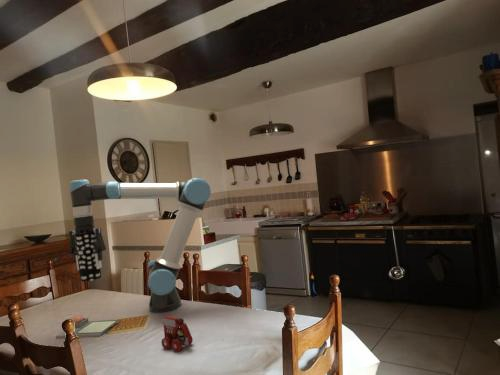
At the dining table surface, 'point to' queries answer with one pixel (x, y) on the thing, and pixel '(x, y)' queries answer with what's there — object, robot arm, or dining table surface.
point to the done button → (78, 319)
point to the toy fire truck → (175, 334)
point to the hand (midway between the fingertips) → (89, 268)
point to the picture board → (90, 328)
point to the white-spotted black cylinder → (87, 256)
